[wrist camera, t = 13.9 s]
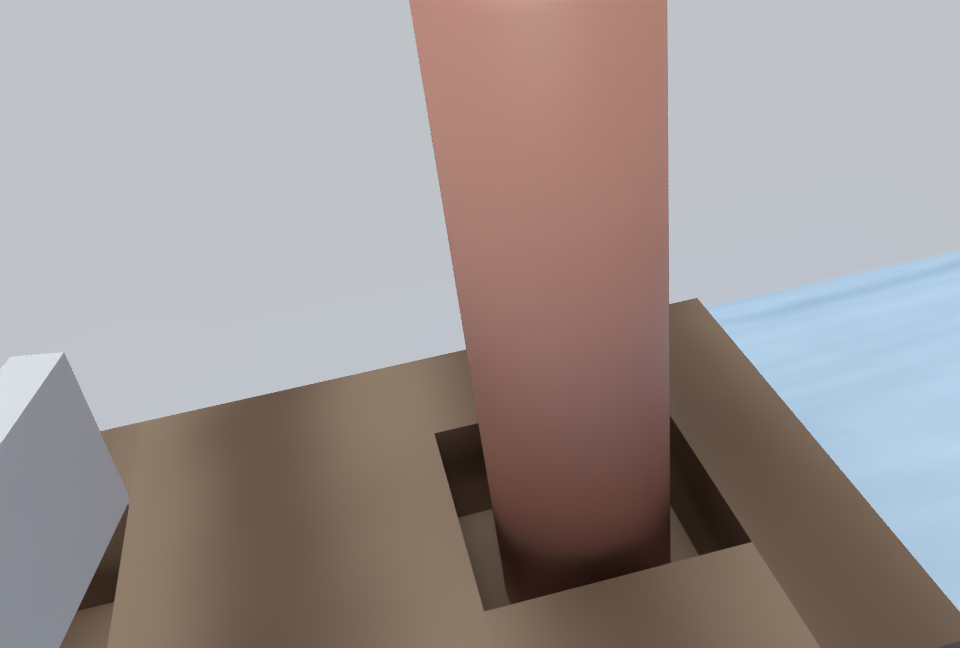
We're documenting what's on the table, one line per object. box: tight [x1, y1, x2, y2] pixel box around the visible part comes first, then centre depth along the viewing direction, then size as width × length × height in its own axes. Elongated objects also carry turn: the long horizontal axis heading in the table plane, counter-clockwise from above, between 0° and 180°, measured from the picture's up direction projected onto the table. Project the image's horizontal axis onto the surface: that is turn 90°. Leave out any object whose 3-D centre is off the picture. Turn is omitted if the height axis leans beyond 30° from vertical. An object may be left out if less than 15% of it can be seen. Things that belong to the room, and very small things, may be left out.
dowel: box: [409, 0, 671, 604], centre depth 18 cm, size 4×4×14 cm
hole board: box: [59, 298, 960, 648], centre depth 21 cm, size 24×12×4 cm, turn 103°
